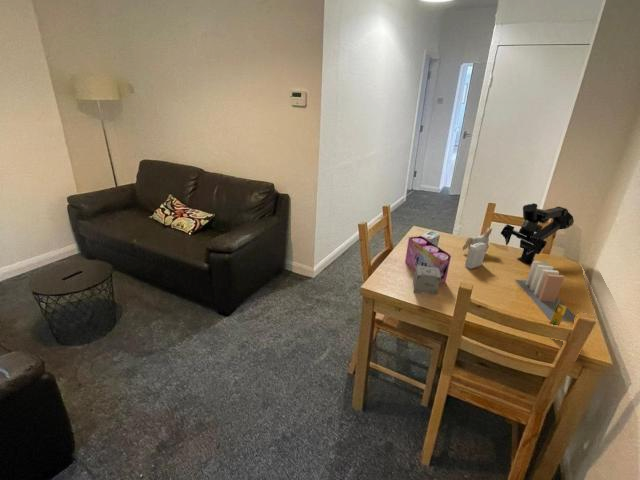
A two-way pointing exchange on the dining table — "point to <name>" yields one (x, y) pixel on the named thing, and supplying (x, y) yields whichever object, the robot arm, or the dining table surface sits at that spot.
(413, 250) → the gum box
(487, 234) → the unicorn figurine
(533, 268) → the domino
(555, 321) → the crayon box
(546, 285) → the domino
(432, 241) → the light bulb box
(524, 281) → the mat
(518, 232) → the robot arm
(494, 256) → the dining table surface
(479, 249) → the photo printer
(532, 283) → the domino
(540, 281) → the domino
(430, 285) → the grey cardboard box
